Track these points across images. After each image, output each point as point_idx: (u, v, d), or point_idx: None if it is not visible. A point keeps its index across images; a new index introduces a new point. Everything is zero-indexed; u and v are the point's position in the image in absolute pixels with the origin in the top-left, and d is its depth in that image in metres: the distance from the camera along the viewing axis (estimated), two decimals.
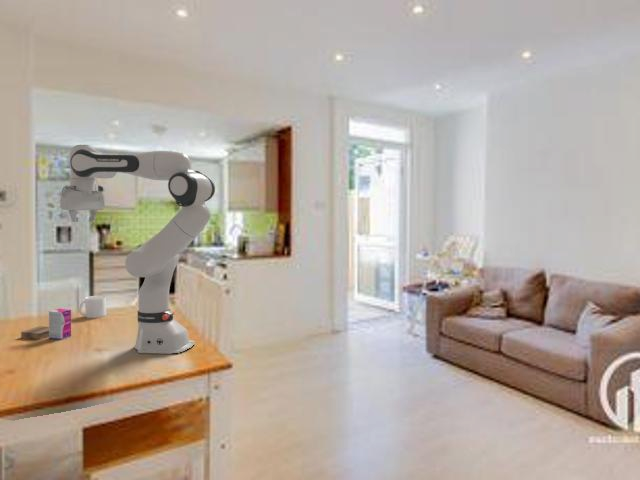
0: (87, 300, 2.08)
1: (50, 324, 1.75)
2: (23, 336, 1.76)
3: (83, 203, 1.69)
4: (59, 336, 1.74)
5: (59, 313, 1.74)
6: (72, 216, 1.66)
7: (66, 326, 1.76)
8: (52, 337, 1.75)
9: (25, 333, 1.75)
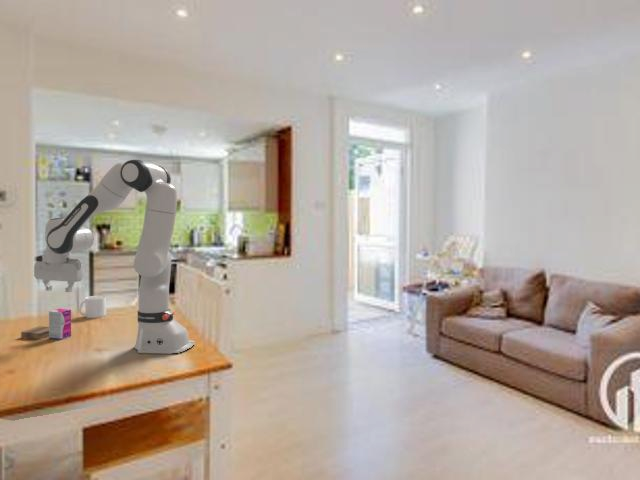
0: (87, 300, 2.08)
1: (50, 324, 1.75)
2: (23, 336, 1.76)
3: None
4: (59, 336, 1.74)
5: (59, 313, 1.74)
6: (70, 287, 1.75)
7: (66, 326, 1.76)
8: (52, 337, 1.75)
9: (25, 333, 1.75)
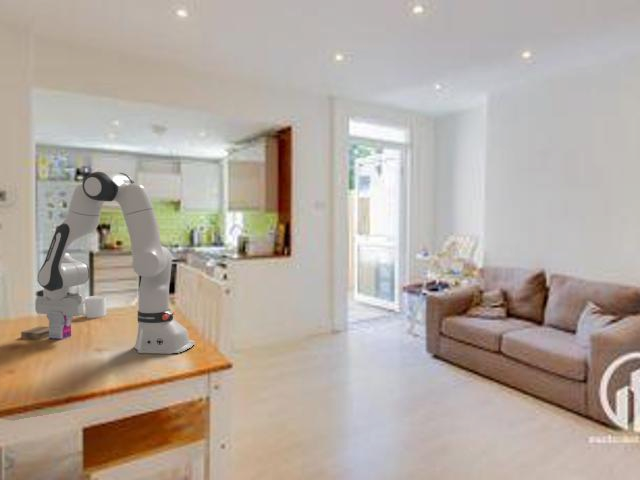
0: (87, 300, 2.08)
1: (50, 324, 1.75)
2: (23, 336, 1.76)
3: None
4: (59, 336, 1.74)
5: (59, 313, 1.74)
6: (69, 320, 1.76)
7: (66, 326, 1.76)
8: (52, 337, 1.75)
9: (25, 333, 1.75)
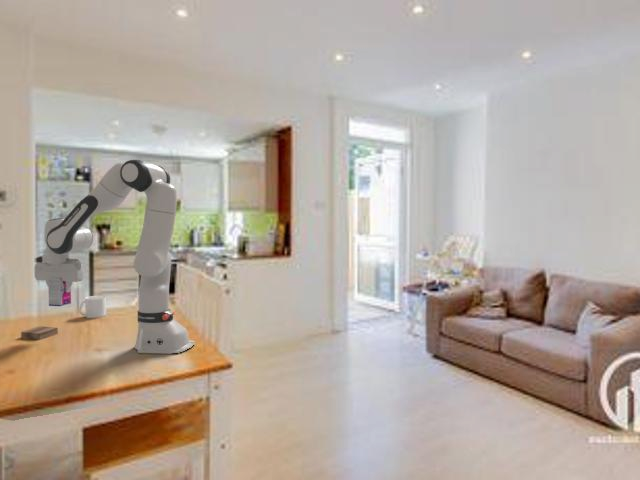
0: (87, 300, 2.08)
1: (49, 291, 1.74)
2: (23, 336, 1.76)
3: None
4: (59, 302, 1.73)
5: (58, 279, 1.73)
6: (68, 287, 1.75)
7: (65, 293, 1.75)
8: (52, 304, 1.74)
9: (25, 333, 1.75)
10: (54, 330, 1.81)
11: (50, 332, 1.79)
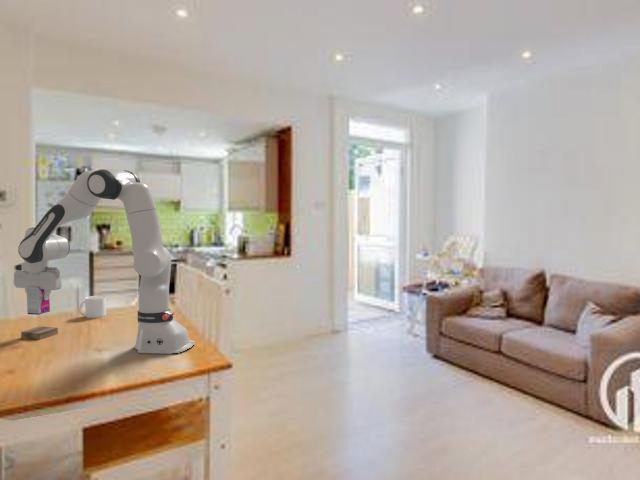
0: (87, 300, 2.08)
1: (28, 299, 1.76)
2: (23, 336, 1.76)
3: None
4: (37, 311, 1.75)
5: (36, 288, 1.75)
6: (47, 295, 1.77)
7: (44, 301, 1.78)
8: (30, 312, 1.76)
9: (25, 333, 1.75)
10: (54, 330, 1.81)
11: (50, 332, 1.79)
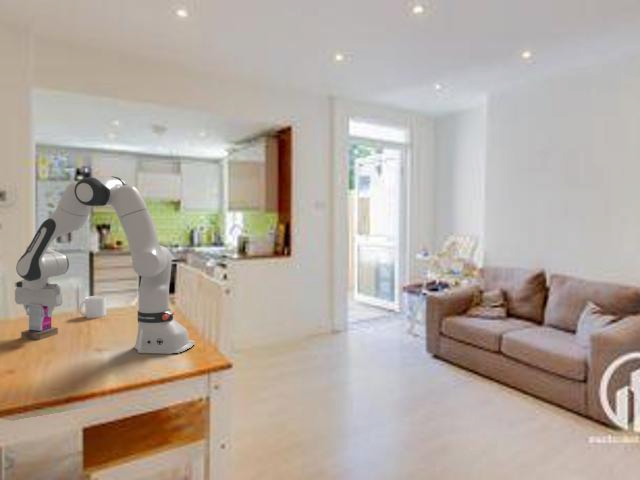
0: (87, 300, 2.08)
1: (30, 316, 1.76)
2: (23, 336, 1.76)
3: None
4: (39, 328, 1.76)
5: (39, 305, 1.75)
6: (50, 311, 1.77)
7: (45, 318, 1.78)
8: (32, 329, 1.77)
9: (25, 333, 1.75)
10: (54, 330, 1.81)
11: (50, 332, 1.79)
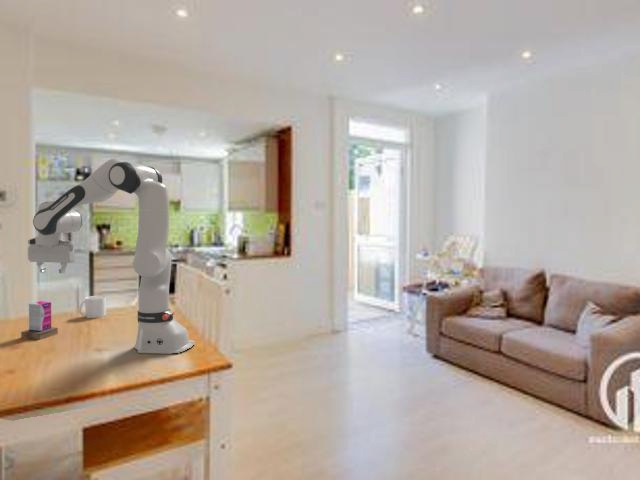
0: (87, 300, 2.08)
1: (30, 316, 1.76)
2: (23, 336, 1.76)
3: None
4: (39, 328, 1.76)
5: (39, 305, 1.75)
6: (63, 268, 1.81)
7: (45, 318, 1.78)
8: (32, 329, 1.77)
9: (25, 333, 1.75)
10: (54, 330, 1.81)
11: (50, 332, 1.79)
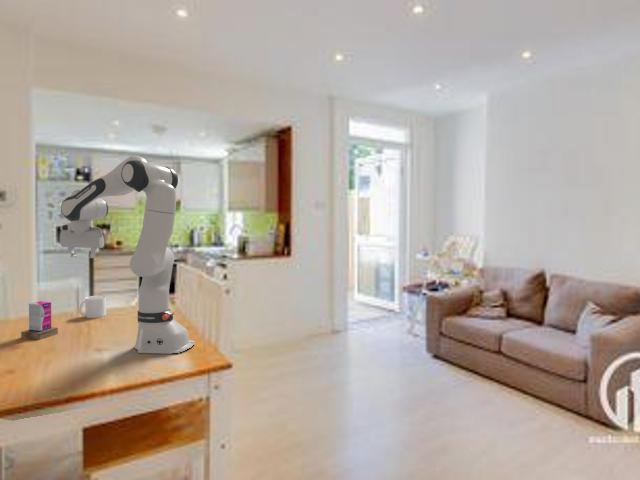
0: (87, 300, 2.08)
1: (30, 316, 1.76)
2: (23, 336, 1.76)
3: None
4: (39, 328, 1.76)
5: (39, 305, 1.75)
6: (93, 253, 1.92)
7: (45, 318, 1.78)
8: (32, 329, 1.77)
9: (25, 333, 1.75)
10: (54, 330, 1.81)
11: (50, 332, 1.79)
